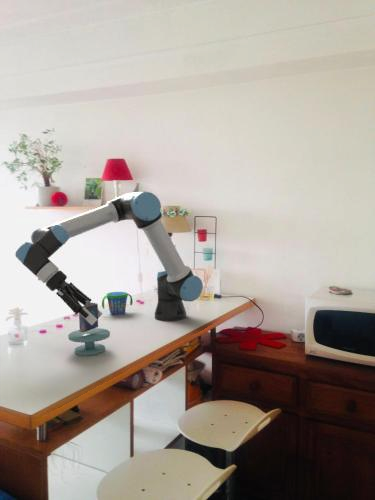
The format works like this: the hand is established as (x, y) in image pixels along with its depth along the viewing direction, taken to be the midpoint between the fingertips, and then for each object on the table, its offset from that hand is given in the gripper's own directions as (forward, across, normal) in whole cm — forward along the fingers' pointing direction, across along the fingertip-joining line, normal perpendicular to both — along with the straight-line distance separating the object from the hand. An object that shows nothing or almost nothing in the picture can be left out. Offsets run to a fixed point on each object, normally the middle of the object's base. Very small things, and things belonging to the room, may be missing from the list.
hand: (97, 319), depth 164 cm
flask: (0, 0, -5) cm, 5 cm away
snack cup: (+6, -58, -11) cm, 59 cm away
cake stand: (+6, 0, -11) cm, 12 cm away
